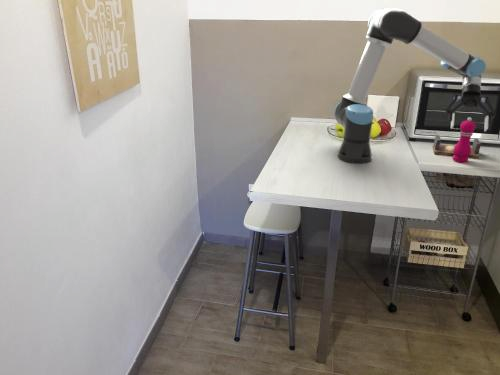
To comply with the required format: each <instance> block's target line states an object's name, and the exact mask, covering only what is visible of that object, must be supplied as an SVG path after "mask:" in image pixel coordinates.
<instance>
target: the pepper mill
mask: <svg viewBox="0 0 500 375" xmlns="http://www.w3.org/2000/svg"><path fill="white" fill-rule="evenodd" d="M459 129H460V132H459V134H460V137H459V140H458V142H457V143H456V145H454V146H455V147H454V150H453V152H454V154H455V155H453V156H452V160H453V161H454V162H456V163H465V164H466V163H468V161H469V158H468V156H469V155H470V154H471V147H472V146H471V138H472V136H473V134H474V131H475V130H476V123H475V122H474V121H473V118H472V117H467V120H463V121H462V122H461V124H460V126H459Z"/></svg>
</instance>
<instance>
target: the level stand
mask: <svg viewBox="0 0 500 375" xmlns="http://www.w3.org/2000/svg"><path fill="white" fill-rule="evenodd" d="M481 145H482V143H481V142H480V140H479V139H478V138H473V142H472V146H471V154H470V155H469V156H468V159H475V160H476V159H477V160H479V159H480V149H481ZM431 146H432V150H433V151H432V152H433V154H434V155H437V156H439V155H440V156H447V157H449V156H450V157H453V155H455V154H454V152H453V150H454V147H455V146H456V145H449V144H442V143H441V137H440V135H437V134H435V138H434V143H433V144H432V145H431Z"/></svg>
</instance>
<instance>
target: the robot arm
mask: <svg viewBox="0 0 500 375" xmlns="http://www.w3.org/2000/svg"><path fill="white" fill-rule="evenodd" d="M370 15H371V16H370V17H369V18H368V22H367V28H368V30H367V33H366V36H365V38H366V41H367V43H366V45H365V48H364V51H363V54H362V55H361V58H360V60H359V64H358V66H357V68H356V72H355V74H354V75H353V79H352V81H351V85H350V87H349V90H348V91H347V93H346V94H344V95H343V96H342V99H341V101H340V102H338V104H336V106H335V108H334V111H333V112H334V118H335V120H336V122H337V124H338V125H340V126H342V128H344V130H343V131H344V132H343V139H342V142H341V144H340V147H339V149H338V151H337V158H338V157H339V158H338V159H340V160H341V159H342V161H343V160H344V162H347V161H348V162H347V163H352V162H354V163H353V164H363V162H365V163H369V162H371V161H372V157H373V156H372V155H373V153H372V148H371V144H370V142H371V141H370V140H371V134H372V126H373V121H374V110H373V109H372V108H371V107H370V106H368V103H367V100H366V98H367V96H368V94H369V91H370V88H371V86H372V83H373V81H374V80H375V76H376V73H377V71H378V69H379V66H380V64H381V61H382V58H384V57H383V56H384V54H385V51H386V49H387V48H388V47H390V46H391V45H392V44H393V41H394V40H395V41H399V42H402V43H404V44H406V45H410V44H411V45H412V46H414V47H416V48H418V49H419V50H421V51H423V52H425V53H426V54H428V55H430V56H432V57H434V58H436V59H438V60H439V61H440V66H441V67H442V68H443V69H445V70H448V71H451V72H453V73H456V74H458V76H459V75H460V76H462V86H461V96H459V95H458V94H455V95H454V97H453V100H451V102H450V104H449V105H448V107H447V108H446V109H445V112H444V114H445V115H448V121H449V122H450V130H451V129H453V128H454V126H455V116H456V115H455V113H457V112H458V111H459V110H460V109H461V108H463V107H464V106H465V107H471V108H476V109H478V110H479V112H480V113H481V114H482V115H483V116H484V125H483V126H484V128H483V129H484V130H483V132H484V133H485V132H487V131H488V129H489V125H490V124H491V122H492V118H493V119H494V118H495V117H496V115H497V113H496V111H495V109H494V108H493V106H492V104H491V102H490V101H489V97H488V96H485V97H481V92H482V90H481V88H482V75H483V73H484V72H485V71H486V67H487V66H486V61H485V60H483V59H481V58H480V56H479V57H478V56H473V55H471V54H470V53H468V52H467V51H466V50H464V49H462V48H460V47H459V46H456V45H454V44H453V43H451V42H449V41H448V40H447V39H445V38H443V37H441V36H440V35H437V33H434V32H432V31H431V30H429V29H428V28H426V27H424V26H423V23H422V21H419V20H418V19H417V18H415V17H413V16H412V15H411V14H409V13H407V11H404V10H403V9H400V8H390V7H384V8H380V9H377V10H376V11H374V12H373V13H372V14H370ZM459 100H460V103H458V104H457V105H456V106H455V107H454V105H455V104H456V102H458V101H459ZM482 103H483V104H482ZM453 107H454V108H453Z"/></svg>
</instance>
